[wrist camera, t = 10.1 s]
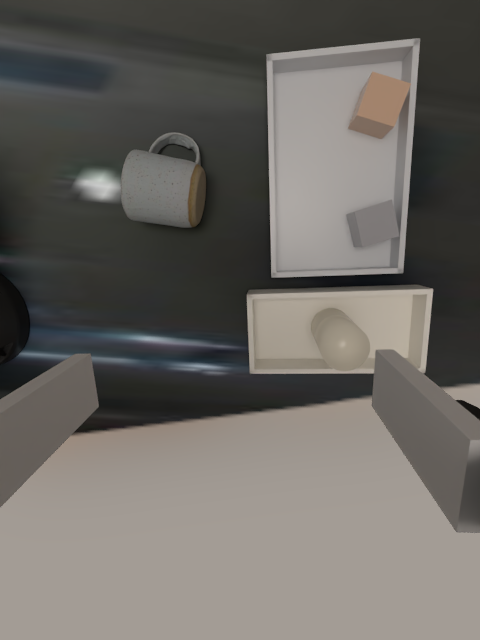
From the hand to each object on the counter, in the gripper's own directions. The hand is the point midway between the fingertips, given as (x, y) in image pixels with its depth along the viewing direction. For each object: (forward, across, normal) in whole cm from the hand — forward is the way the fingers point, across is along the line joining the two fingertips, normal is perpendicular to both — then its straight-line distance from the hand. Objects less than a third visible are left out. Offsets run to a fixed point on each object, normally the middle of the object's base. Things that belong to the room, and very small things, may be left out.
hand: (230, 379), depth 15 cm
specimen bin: (+28, +10, -5) cm, 30 cm away
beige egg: (+28, +10, -5) cm, 30 cm away
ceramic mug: (+29, -9, +13) cm, 33 cm away
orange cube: (+28, +14, +19) cm, 37 cm away
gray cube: (+28, +14, +7) cm, 32 cm away
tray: (+28, +10, +13) cm, 33 cm away
